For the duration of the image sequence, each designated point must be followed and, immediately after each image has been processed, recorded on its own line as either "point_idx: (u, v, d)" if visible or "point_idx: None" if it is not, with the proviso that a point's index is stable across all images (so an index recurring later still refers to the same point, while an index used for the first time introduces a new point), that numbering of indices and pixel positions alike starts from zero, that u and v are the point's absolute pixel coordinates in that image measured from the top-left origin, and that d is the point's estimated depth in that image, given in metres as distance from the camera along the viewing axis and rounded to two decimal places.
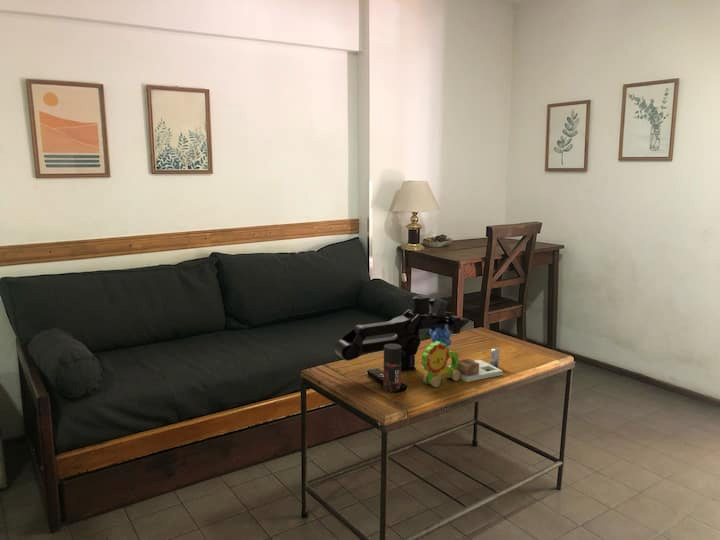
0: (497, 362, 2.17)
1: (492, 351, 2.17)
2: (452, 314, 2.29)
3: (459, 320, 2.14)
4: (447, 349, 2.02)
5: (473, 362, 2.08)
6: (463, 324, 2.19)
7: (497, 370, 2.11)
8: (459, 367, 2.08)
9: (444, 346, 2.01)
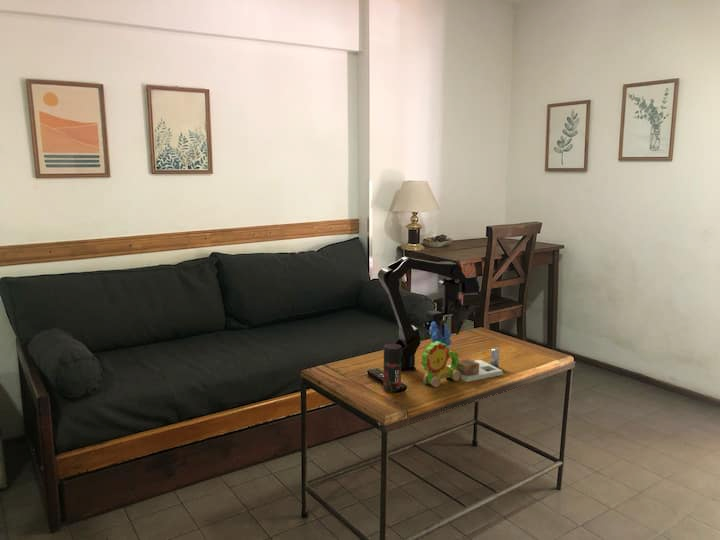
0: (497, 362, 2.17)
1: (492, 351, 2.17)
2: (457, 331, 2.22)
3: (433, 319, 2.13)
4: (447, 349, 2.02)
5: (473, 362, 2.08)
6: (439, 328, 2.19)
7: (497, 370, 2.11)
8: (459, 367, 2.08)
9: (444, 346, 2.01)
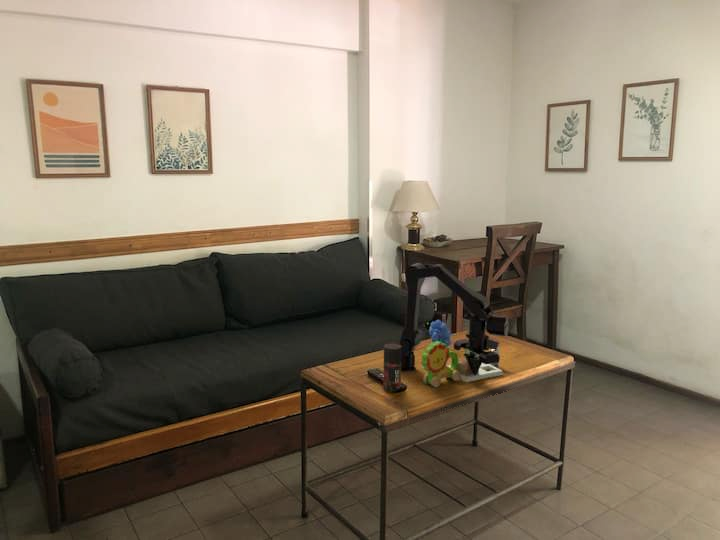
0: (497, 362, 2.17)
1: (492, 351, 2.17)
2: None
3: (498, 360, 1.96)
4: (447, 349, 2.02)
5: None
6: (475, 367, 2.02)
7: (497, 370, 2.11)
8: (459, 366, 2.08)
9: (444, 346, 2.01)
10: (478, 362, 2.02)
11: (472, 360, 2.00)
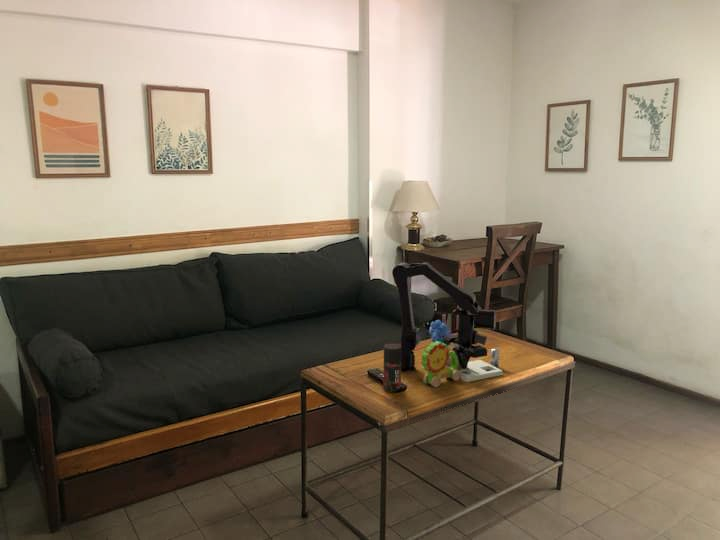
0: (497, 362, 2.17)
1: (492, 351, 2.17)
2: None
3: (486, 354, 2.01)
4: (447, 349, 2.02)
5: None
6: (464, 361, 2.08)
7: (497, 370, 2.11)
8: (448, 361, 2.13)
9: (444, 346, 2.01)
10: (467, 356, 2.08)
11: (461, 354, 2.06)
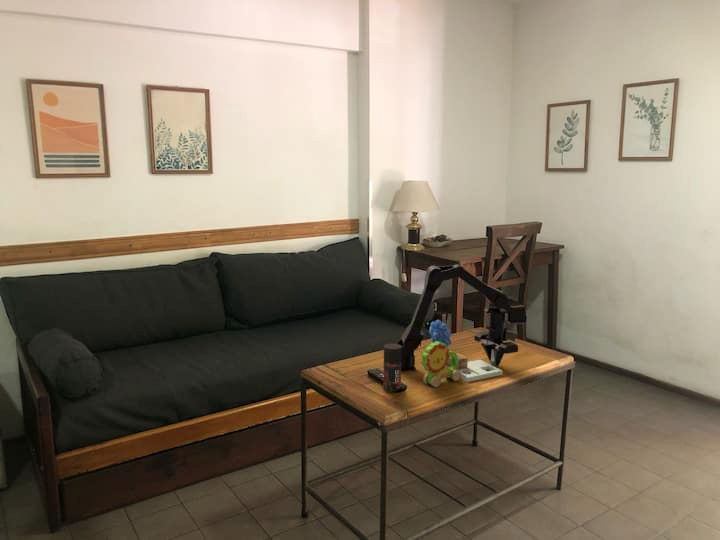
0: None
1: (492, 351, 2.17)
2: None
3: (517, 350, 2.10)
4: (447, 349, 2.02)
5: (462, 356, 2.14)
6: (497, 358, 2.15)
7: (497, 370, 2.11)
8: (448, 361, 2.13)
9: (444, 346, 2.01)
10: (500, 353, 2.15)
11: (495, 351, 2.13)
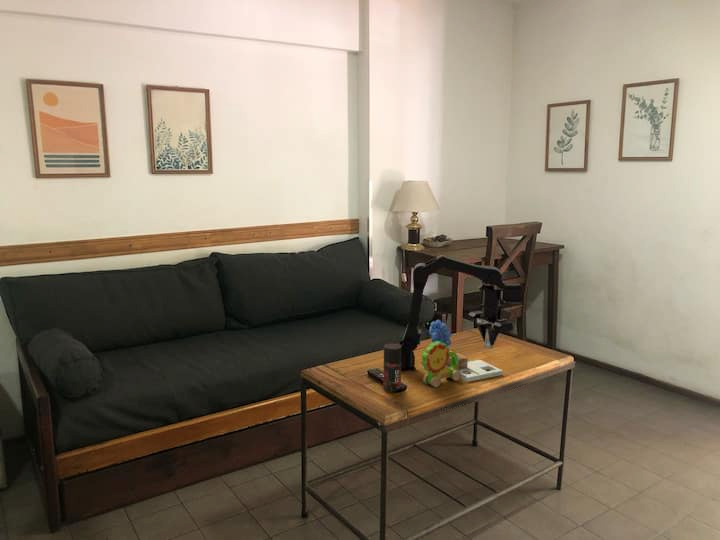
0: None
1: (486, 330, 2.10)
2: None
3: (512, 328, 2.03)
4: (447, 349, 2.02)
5: (462, 356, 2.14)
6: (492, 337, 2.08)
7: (497, 370, 2.11)
8: (448, 361, 2.13)
9: (444, 346, 2.01)
10: (495, 332, 2.08)
11: (489, 330, 2.06)
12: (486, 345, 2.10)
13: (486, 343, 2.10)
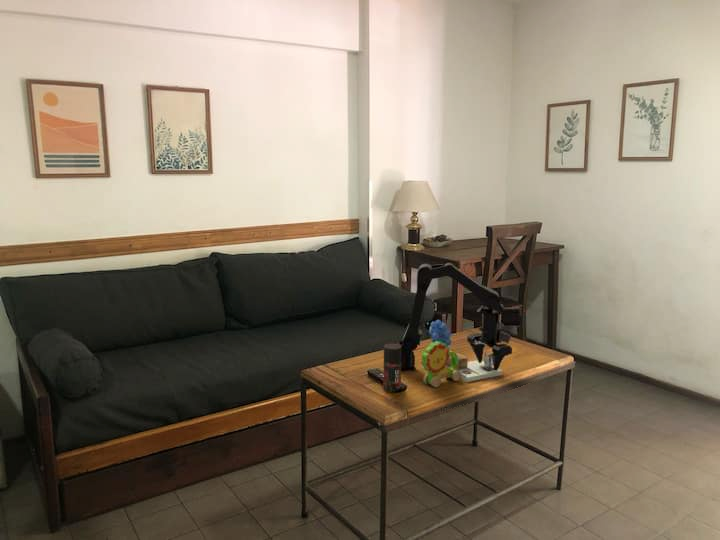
0: (491, 368, 2.12)
1: (485, 356, 2.11)
2: (481, 359, 2.16)
3: (510, 352, 2.04)
4: (447, 349, 2.02)
5: (462, 356, 2.14)
6: (496, 363, 2.07)
7: (497, 370, 2.11)
8: (448, 361, 2.13)
9: (444, 346, 2.01)
10: (499, 358, 2.07)
11: (493, 356, 2.05)
12: None
13: (485, 369, 2.12)
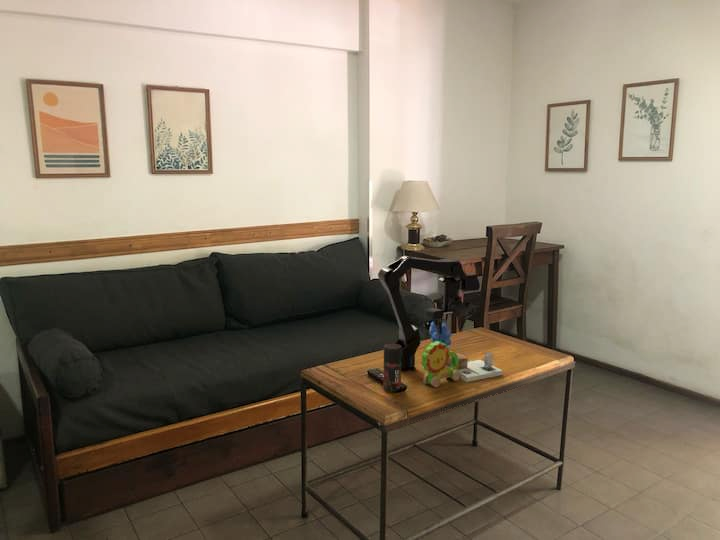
0: (491, 368, 2.12)
1: (485, 356, 2.11)
2: (459, 329, 2.22)
3: (433, 317, 2.13)
4: (447, 349, 2.02)
5: (462, 356, 2.14)
6: (436, 326, 2.18)
7: (497, 370, 2.11)
8: (448, 361, 2.13)
9: (444, 346, 2.01)
10: (437, 322, 2.17)
11: None
12: None
13: (485, 369, 2.12)
